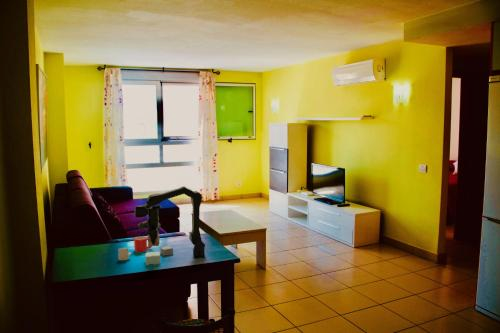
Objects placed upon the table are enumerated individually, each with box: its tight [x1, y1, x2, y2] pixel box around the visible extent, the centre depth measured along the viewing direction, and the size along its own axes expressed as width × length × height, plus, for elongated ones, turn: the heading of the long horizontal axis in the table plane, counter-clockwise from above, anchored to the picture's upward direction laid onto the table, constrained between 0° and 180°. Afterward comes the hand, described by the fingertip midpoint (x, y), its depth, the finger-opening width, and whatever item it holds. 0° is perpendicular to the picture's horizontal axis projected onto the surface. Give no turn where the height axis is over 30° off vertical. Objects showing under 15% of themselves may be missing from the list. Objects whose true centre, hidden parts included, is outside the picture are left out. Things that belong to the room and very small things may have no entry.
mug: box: [133, 236, 153, 253], centre depth 250 cm, size 8×12×8 cm, turn 107°
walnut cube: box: [147, 232, 161, 247], centre depth 226 cm, size 6×6×6 cm
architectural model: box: [118, 247, 132, 261], centre depth 233 cm, size 3×7×7 cm, turn 104°
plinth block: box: [145, 251, 161, 266], centre depth 227 cm, size 8×8×5 cm
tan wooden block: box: [160, 245, 174, 257], centre depth 242 cm, size 6×6×4 cm
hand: (153, 242), depth 226 cm, fingers closed on walnut cube, 6 cm apart
